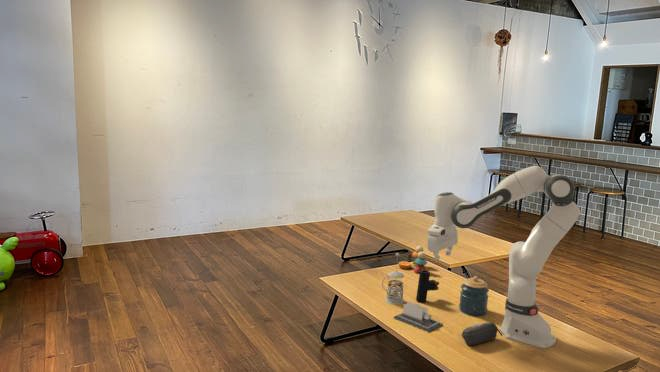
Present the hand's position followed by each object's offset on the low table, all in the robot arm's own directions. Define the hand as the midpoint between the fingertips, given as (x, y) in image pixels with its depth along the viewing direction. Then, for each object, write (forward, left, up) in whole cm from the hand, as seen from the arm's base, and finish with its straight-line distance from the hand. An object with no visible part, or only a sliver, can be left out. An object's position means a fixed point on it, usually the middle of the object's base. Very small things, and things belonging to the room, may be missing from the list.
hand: (442, 257), depth 223 cm
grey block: (+4, +12, -28) cm, 31 cm away
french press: (+26, +1, -29) cm, 39 cm away
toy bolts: (+49, -48, -29) cm, 74 cm away
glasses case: (-26, +9, -29) cm, 40 cm away
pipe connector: (+16, -13, -29) cm, 35 cm away
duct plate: (+3, +12, -29) cm, 31 cm away
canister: (-7, -19, -29) cm, 35 cm away
